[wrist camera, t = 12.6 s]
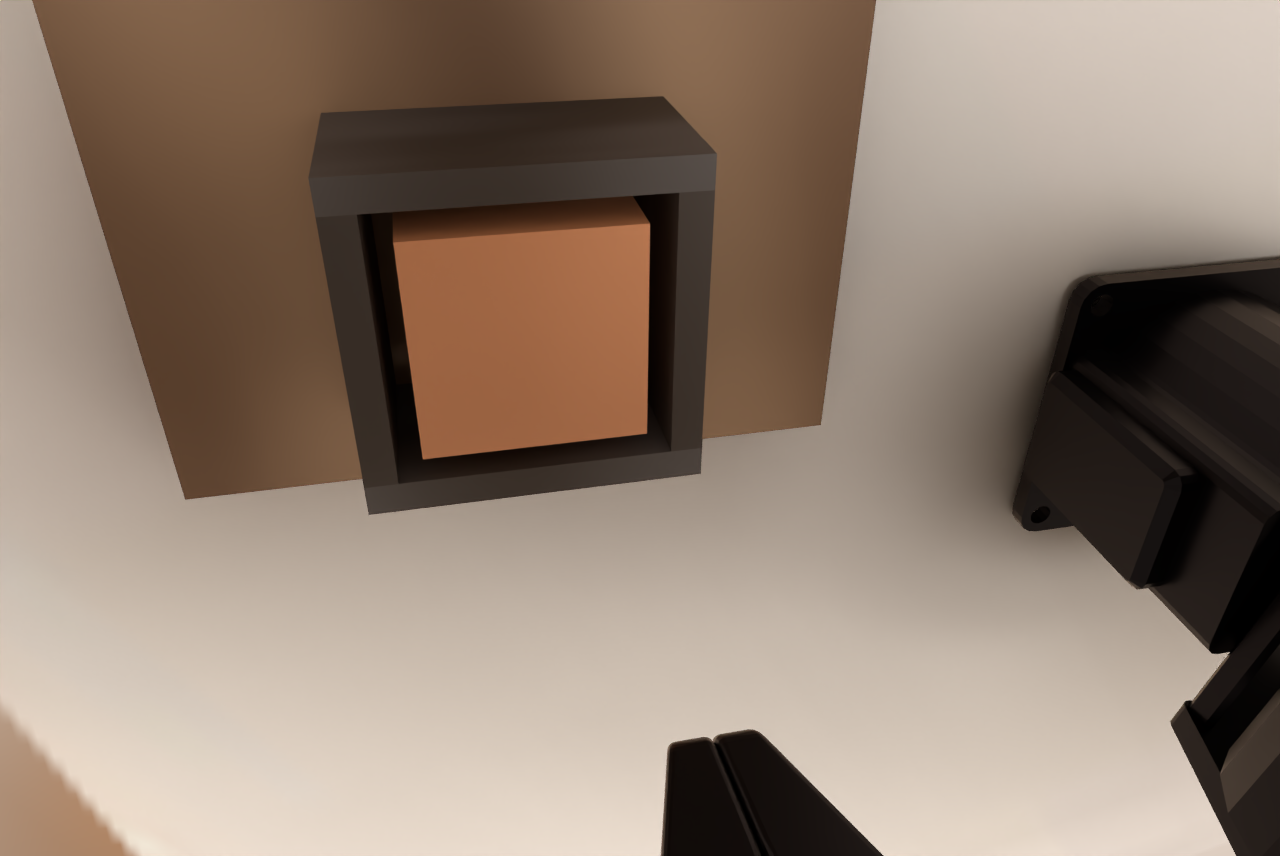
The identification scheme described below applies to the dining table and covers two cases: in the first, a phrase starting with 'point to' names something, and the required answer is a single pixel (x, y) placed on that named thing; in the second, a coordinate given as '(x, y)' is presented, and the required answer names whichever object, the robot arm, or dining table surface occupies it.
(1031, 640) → the dining table surface
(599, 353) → the button
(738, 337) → the rail mount
